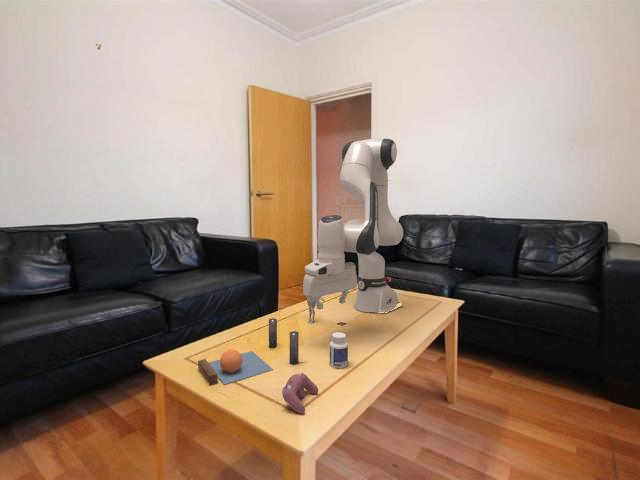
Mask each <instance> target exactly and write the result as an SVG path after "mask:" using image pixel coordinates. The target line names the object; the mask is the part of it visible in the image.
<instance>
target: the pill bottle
mask: <svg viewBox="0 0 640 480" xmlns="http://www.w3.org/2000/svg"><path fill="white" fill-rule="evenodd" d="M331 334H332V335H331V341H330V342H329V365H330V366H331V367H332V368H334V369H345V368H346V367H347V366H348V363H349V362H348V361H349V344H348V342H347V335H346V333H344V332H333V333H331Z"/></svg>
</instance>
